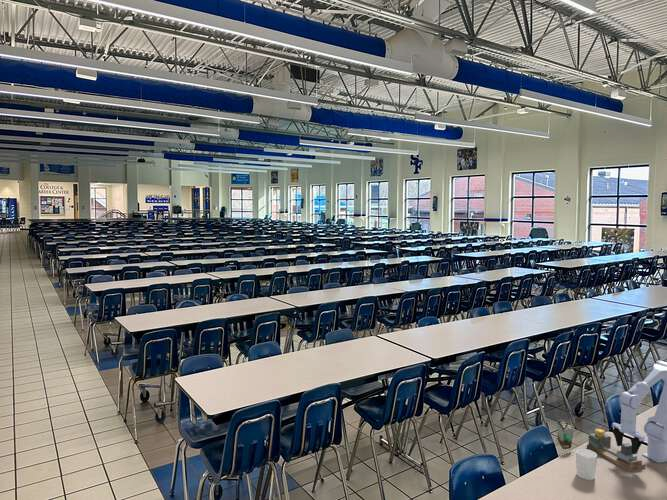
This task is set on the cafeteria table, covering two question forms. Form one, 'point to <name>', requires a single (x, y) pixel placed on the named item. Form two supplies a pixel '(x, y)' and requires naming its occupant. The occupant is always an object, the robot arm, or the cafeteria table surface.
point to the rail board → (611, 452)
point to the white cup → (586, 463)
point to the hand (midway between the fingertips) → (626, 449)
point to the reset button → (599, 432)
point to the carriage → (626, 453)
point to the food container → (565, 434)
